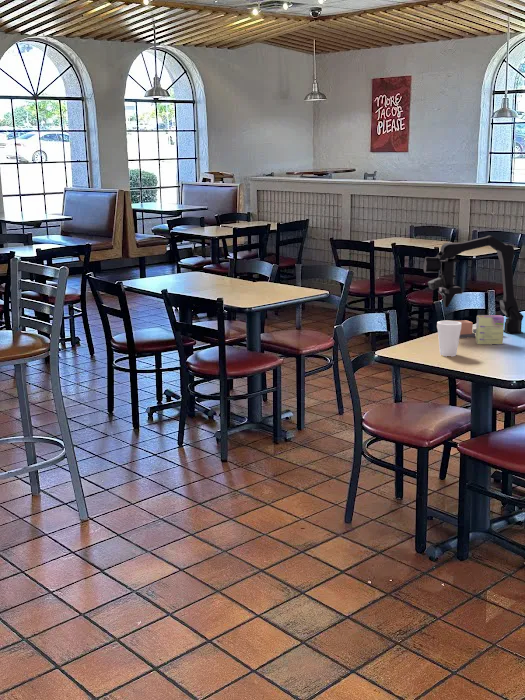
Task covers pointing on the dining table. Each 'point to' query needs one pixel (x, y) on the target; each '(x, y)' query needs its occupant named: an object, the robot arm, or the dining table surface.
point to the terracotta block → (466, 327)
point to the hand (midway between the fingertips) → (446, 307)
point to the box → (489, 329)
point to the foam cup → (448, 337)
